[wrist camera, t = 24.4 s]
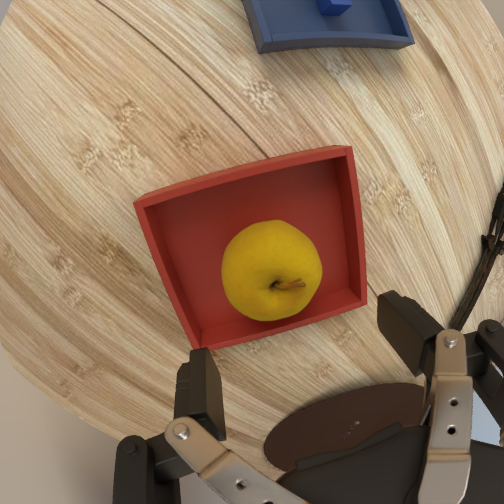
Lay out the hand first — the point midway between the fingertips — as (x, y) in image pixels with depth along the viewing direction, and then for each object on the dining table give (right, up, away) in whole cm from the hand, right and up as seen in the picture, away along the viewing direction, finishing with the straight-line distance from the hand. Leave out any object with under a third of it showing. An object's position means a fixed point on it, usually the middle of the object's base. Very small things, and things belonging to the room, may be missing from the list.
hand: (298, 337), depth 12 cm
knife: (+29, +2, +16) cm, 33 cm away
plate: (+14, -25, +25) cm, 38 cm away
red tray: (-1, +4, +11) cm, 12 cm away
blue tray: (+3, +27, +2) cm, 28 cm away
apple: (-1, +4, +10) cm, 11 cm away
